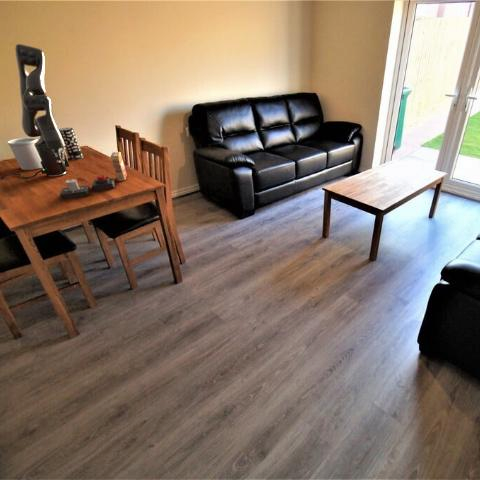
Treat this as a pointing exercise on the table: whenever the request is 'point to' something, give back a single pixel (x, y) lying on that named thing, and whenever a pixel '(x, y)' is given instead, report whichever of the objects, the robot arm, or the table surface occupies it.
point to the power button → (101, 177)
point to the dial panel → (75, 192)
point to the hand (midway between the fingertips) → (66, 169)
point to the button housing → (103, 184)
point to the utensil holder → (26, 153)
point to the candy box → (118, 166)
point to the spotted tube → (71, 143)
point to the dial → (72, 185)
